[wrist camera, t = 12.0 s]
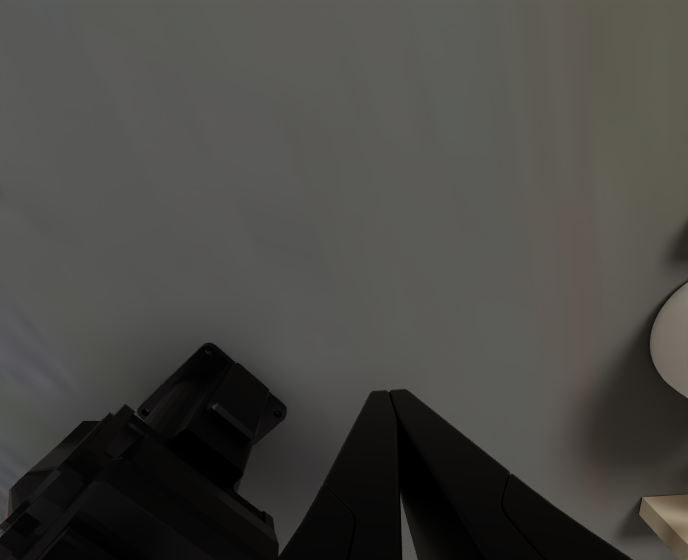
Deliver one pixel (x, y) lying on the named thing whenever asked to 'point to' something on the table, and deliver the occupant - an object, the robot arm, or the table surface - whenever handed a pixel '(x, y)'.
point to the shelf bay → (668, 521)
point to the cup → (672, 341)
